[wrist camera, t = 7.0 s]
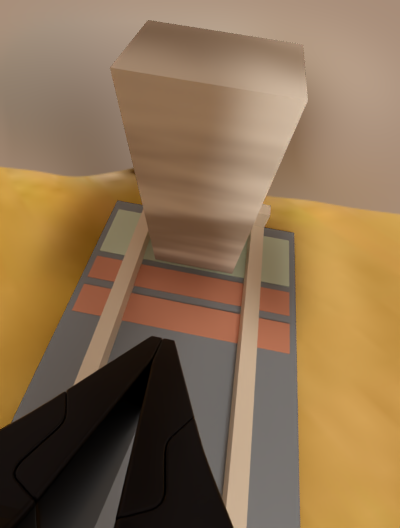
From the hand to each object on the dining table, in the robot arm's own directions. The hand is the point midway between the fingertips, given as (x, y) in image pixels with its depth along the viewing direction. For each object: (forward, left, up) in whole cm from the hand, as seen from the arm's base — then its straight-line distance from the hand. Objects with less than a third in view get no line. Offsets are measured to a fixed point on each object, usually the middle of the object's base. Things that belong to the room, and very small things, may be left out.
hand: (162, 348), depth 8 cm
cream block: (+6, +6, -7) cm, 11 cm away
